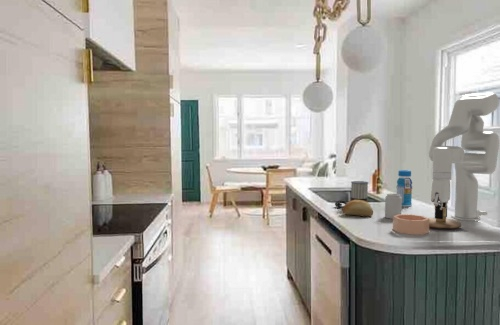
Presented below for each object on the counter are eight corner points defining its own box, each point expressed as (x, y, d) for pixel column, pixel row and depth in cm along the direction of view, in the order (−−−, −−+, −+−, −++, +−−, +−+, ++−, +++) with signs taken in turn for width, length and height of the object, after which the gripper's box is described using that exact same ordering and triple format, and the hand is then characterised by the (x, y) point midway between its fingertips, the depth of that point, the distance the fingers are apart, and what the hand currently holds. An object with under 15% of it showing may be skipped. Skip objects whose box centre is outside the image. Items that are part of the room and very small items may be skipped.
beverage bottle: (394, 205, 238) (395, 170, 236) (398, 203, 244) (399, 169, 243) (409, 207, 233) (410, 171, 231) (413, 205, 240) (414, 170, 238)
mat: (449, 223, 190) (449, 222, 190) (468, 232, 173) (468, 231, 173) (413, 223, 190) (413, 222, 190) (430, 232, 173) (430, 231, 173)
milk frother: (371, 210, 225) (371, 182, 224) (344, 211, 220) (345, 183, 219) (357, 205, 238) (357, 179, 237) (332, 206, 234) (332, 180, 233)
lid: (450, 219, 190) (450, 204, 189) (468, 227, 174) (469, 211, 173) (415, 219, 190) (415, 204, 189) (430, 228, 174) (430, 211, 173)
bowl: (419, 228, 181) (420, 214, 181) (433, 235, 168) (433, 220, 168) (389, 228, 181) (390, 214, 181) (400, 235, 168) (401, 220, 168)
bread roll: (342, 213, 216) (342, 197, 215) (372, 214, 212) (373, 199, 212) (341, 216, 207) (342, 200, 206) (373, 218, 203) (373, 202, 202)
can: (402, 220, 197) (403, 195, 196) (385, 219, 199) (386, 194, 198) (400, 217, 204) (400, 193, 204) (384, 216, 206) (384, 192, 205)
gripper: (440, 173, 189) (439, 213, 190) (425, 177, 177) (424, 219, 178) (458, 174, 184) (456, 216, 185) (443, 178, 172) (442, 222, 173)
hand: (440, 217), depth 182 cm, fingers closed on lid, 4 cm apart
